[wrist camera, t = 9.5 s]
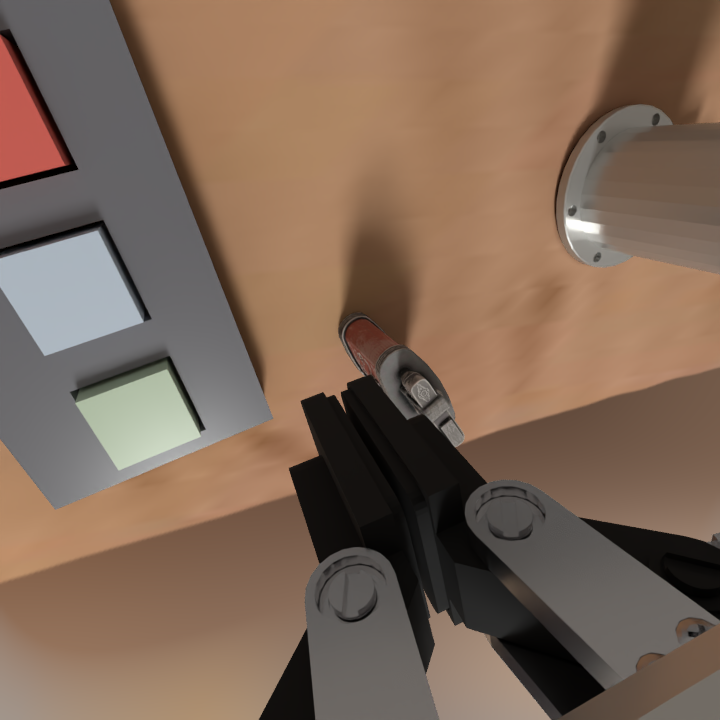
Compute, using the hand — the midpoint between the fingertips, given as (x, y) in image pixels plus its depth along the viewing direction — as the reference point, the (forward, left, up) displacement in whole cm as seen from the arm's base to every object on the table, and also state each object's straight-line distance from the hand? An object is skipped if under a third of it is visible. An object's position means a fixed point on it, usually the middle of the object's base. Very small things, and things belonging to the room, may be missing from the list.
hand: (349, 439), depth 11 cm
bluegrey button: (+8, -2, -21) cm, 23 cm away
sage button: (+8, +6, -21) cm, 23 cm away
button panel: (+8, -2, -22) cm, 23 cm away
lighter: (-8, +10, -22) cm, 25 cm away
